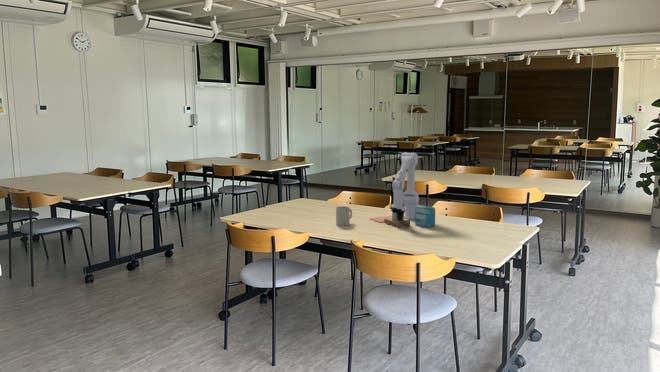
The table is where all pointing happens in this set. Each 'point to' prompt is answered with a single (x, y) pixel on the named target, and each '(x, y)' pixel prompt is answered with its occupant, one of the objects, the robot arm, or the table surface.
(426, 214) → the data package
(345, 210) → the mug
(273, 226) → the table surface
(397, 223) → the frame
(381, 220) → the mat
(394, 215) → the blank block
